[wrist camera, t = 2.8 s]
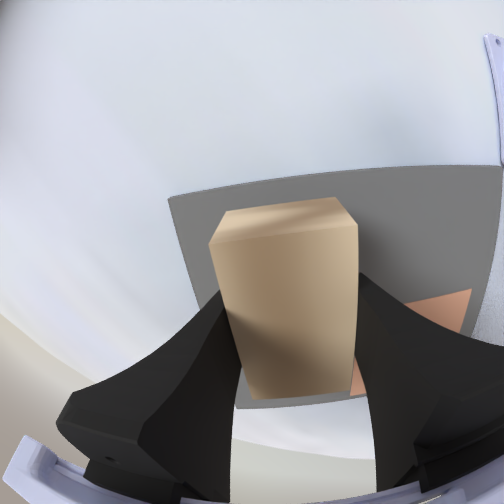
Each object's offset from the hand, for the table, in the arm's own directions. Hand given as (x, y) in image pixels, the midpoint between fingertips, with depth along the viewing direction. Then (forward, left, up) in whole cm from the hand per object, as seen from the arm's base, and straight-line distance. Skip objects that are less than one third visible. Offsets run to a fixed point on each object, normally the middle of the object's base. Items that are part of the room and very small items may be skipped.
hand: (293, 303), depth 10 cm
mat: (-4, +4, -4) cm, 7 cm away
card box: (0, 0, -1) cm, 1 cm away
